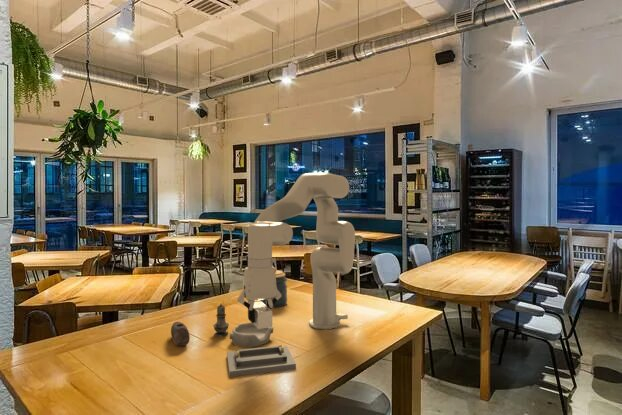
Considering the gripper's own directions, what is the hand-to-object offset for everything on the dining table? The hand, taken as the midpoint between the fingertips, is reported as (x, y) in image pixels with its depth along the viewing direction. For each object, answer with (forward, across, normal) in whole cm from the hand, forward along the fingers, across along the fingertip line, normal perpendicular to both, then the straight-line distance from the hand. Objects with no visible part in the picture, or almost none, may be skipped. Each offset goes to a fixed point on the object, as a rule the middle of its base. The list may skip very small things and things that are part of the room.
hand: (259, 319), depth 124 cm
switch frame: (+14, 0, 0) cm, 14 cm away
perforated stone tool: (+14, +20, -30) cm, 39 cm away
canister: (+14, -27, -58) cm, 65 cm away
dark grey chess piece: (+14, +5, -30) cm, 33 cm away
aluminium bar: (+1, 0, 0) cm, 1 cm away
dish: (+14, -3, -19) cm, 24 cm away
